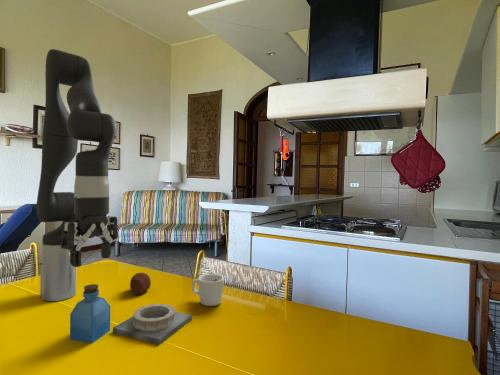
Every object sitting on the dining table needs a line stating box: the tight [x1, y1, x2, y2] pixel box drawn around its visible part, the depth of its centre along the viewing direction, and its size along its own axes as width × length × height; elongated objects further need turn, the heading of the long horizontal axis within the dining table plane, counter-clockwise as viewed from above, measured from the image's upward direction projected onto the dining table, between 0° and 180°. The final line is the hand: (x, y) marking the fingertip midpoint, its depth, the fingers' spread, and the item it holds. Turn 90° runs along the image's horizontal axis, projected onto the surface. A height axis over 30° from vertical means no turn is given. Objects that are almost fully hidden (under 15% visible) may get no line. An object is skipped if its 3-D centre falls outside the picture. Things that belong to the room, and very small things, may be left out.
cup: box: [191, 273, 225, 307], centre depth 97 cm, size 11×8×8 cm
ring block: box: [112, 303, 193, 345], centre depth 81 cm, size 14×14×4 cm
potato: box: [129, 272, 152, 295], centre depth 105 cm, size 7×9×6 cm
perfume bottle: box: [69, 283, 111, 344], centre depth 75 cm, size 6×6×12 cm
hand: (91, 261), depth 75 cm, fingers open, 8 cm apart
